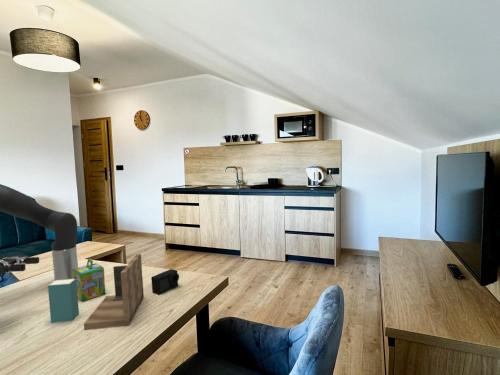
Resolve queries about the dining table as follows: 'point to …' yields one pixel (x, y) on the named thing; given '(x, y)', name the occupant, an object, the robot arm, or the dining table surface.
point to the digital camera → (164, 281)
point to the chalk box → (89, 281)
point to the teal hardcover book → (63, 300)
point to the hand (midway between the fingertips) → (32, 263)
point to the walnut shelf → (120, 298)
